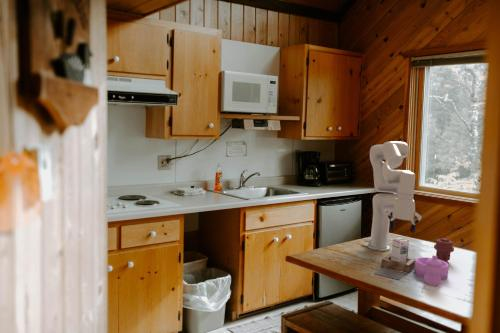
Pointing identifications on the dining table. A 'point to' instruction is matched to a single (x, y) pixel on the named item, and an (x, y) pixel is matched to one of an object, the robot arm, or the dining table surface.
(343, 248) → the dining table surface
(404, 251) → the syrup box
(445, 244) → the mechanical component
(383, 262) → the socket collar
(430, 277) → the container set
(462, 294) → the dining table surface
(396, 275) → the rubber mat
